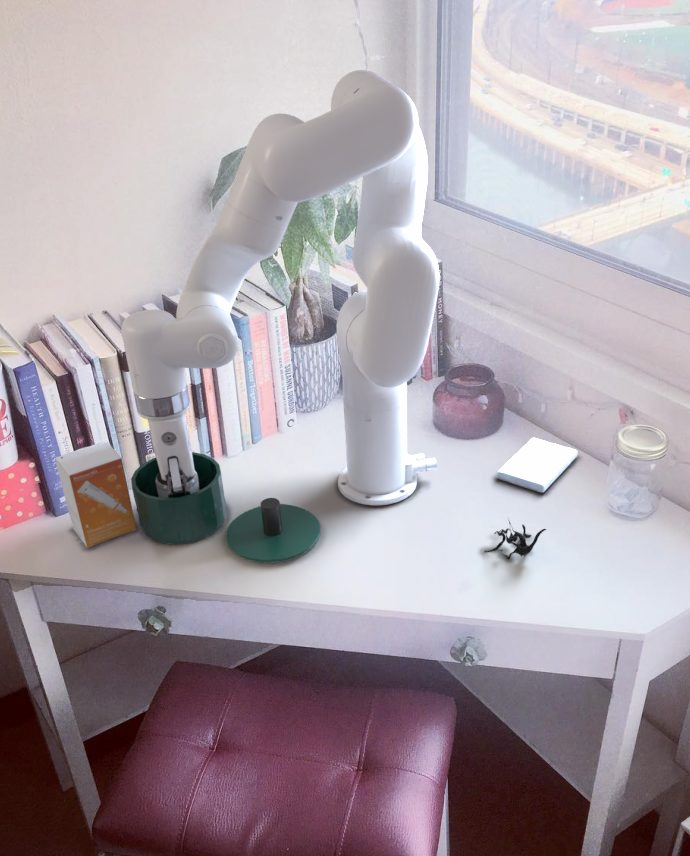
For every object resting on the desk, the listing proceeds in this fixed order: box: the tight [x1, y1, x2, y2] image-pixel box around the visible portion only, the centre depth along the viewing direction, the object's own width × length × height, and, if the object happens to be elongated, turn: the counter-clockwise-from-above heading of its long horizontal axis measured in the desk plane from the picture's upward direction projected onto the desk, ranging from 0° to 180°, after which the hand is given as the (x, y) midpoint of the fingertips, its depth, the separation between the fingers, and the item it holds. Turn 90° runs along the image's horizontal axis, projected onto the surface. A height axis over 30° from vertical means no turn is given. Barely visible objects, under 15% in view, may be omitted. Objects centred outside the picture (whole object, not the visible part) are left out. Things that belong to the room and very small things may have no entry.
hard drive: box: [496, 437, 578, 494], centre depth 146 cm, size 2×8×12 cm
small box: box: [54, 440, 137, 549], centre depth 134 cm, size 8×6×13 cm
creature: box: [483, 518, 547, 560], centre depth 128 cm, size 8×5×8 cm
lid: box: [225, 497, 321, 564], centre depth 133 cm, size 14×14×6 cm
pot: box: [130, 451, 228, 545], centre depth 137 cm, size 13×13×8 cm
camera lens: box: [155, 471, 200, 498], centre depth 137 cm, size 6×6×8 cm
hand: (181, 502), depth 138 cm, fingers closed on camera lens, 6 cm apart
